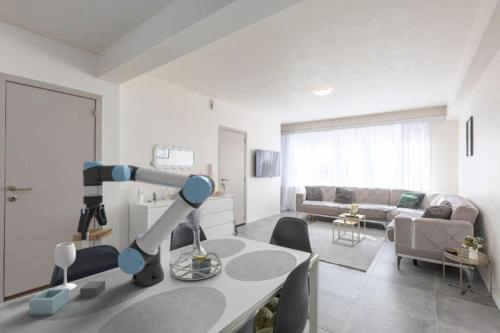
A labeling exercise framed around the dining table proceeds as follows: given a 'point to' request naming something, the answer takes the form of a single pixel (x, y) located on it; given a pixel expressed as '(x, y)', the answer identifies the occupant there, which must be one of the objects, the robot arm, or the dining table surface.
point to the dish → (49, 301)
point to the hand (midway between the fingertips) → (93, 243)
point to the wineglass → (65, 260)
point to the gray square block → (92, 289)
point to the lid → (94, 234)
